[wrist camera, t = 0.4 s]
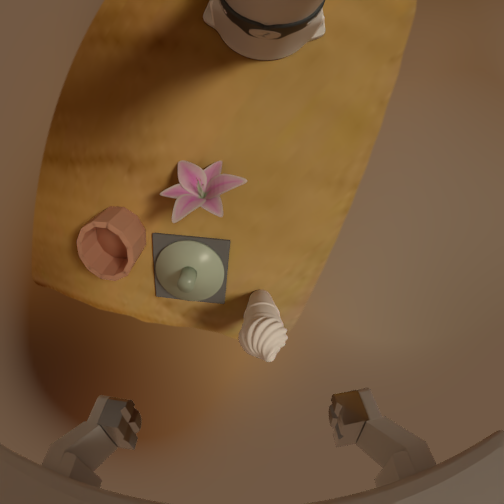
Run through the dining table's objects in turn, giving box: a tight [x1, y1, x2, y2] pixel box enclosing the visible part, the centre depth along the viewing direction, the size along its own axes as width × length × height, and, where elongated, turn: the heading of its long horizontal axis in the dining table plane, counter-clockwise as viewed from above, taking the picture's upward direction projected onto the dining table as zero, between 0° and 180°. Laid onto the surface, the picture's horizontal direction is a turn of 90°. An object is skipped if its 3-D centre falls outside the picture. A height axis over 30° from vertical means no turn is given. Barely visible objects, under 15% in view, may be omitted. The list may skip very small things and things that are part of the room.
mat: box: [153, 233, 230, 304], centre depth 52 cm, size 14×14×1 cm
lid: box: [156, 240, 224, 301], centre depth 49 cm, size 13×13×5 cm
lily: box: [160, 161, 247, 223], centre depth 41 cm, size 12×12×10 cm
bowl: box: [76, 206, 146, 281], centre depth 45 cm, size 11×11×7 cm
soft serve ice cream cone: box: [238, 290, 288, 362], centre depth 48 cm, size 8×8×16 cm
